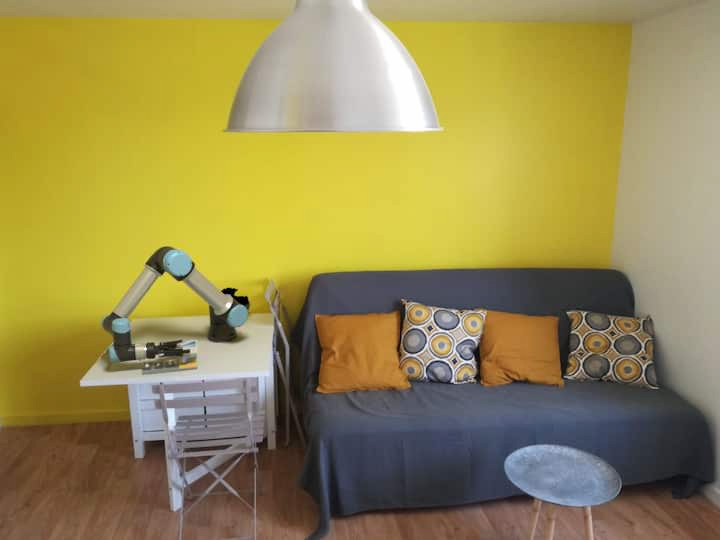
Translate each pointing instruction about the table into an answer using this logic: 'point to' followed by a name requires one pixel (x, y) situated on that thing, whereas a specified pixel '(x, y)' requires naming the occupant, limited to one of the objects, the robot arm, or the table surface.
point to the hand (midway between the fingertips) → (197, 346)
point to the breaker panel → (168, 366)
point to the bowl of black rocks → (237, 297)
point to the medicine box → (191, 355)
